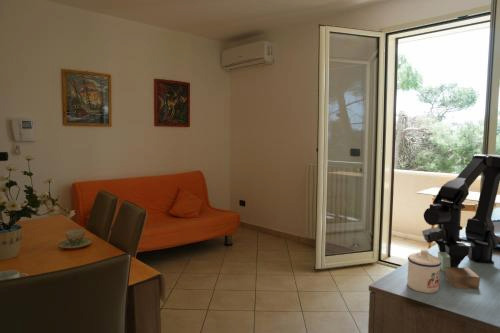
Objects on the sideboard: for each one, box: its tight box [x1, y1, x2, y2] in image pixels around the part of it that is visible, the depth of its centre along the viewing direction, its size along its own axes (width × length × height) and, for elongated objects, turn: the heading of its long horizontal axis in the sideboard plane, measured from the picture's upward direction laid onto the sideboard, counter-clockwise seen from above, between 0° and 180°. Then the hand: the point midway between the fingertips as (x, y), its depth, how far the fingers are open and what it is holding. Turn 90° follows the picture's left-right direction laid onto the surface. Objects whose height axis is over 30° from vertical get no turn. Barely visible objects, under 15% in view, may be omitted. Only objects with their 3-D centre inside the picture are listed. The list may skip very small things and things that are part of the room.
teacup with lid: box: [406, 249, 441, 294], centre depth 109 cm, size 12×9×12 cm
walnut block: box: [444, 267, 481, 290], centre depth 111 cm, size 7×7×4 cm
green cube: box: [437, 251, 460, 272], centre depth 123 cm, size 5×5×5 cm
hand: (447, 265), depth 123 cm, fingers open, 9 cm apart
